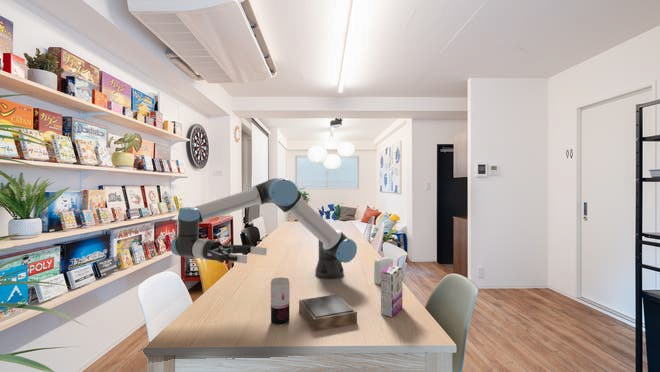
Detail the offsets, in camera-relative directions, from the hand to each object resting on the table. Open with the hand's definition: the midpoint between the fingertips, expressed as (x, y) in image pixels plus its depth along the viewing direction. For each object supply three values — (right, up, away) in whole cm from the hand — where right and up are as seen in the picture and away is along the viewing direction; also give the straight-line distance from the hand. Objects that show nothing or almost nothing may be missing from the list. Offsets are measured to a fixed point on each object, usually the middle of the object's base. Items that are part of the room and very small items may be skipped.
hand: (256, 255), depth 115 cm
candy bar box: (+51, -23, +6) cm, 56 cm away
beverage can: (+9, -23, -3) cm, 25 cm away
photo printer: (+53, -22, +40) cm, 70 cm away
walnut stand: (+26, -23, +1) cm, 34 cm away
